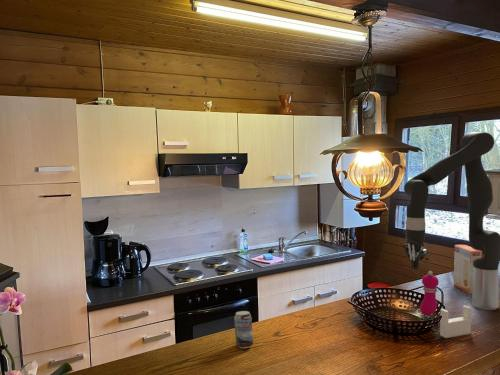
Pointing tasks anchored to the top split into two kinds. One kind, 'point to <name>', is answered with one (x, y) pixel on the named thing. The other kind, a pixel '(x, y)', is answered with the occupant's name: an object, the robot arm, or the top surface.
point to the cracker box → (464, 267)
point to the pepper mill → (429, 294)
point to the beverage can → (243, 329)
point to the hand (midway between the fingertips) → (414, 268)
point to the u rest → (455, 323)
